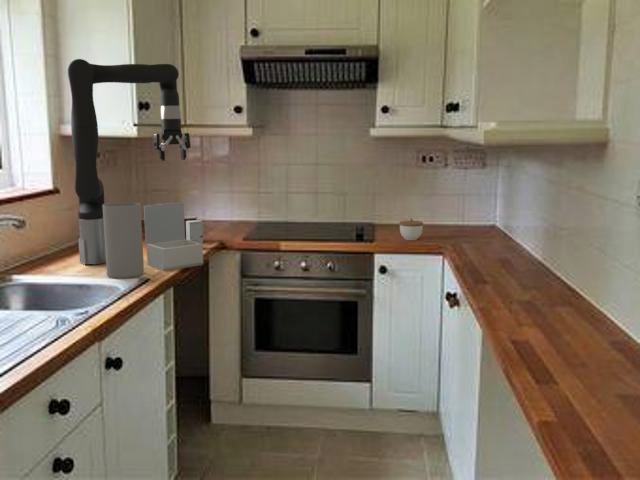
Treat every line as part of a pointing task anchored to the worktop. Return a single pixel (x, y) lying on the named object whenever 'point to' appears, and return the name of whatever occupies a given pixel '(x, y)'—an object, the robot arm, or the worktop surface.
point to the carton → (174, 254)
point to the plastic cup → (188, 220)
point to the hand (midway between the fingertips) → (173, 160)
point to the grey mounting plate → (164, 222)
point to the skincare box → (194, 231)
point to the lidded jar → (411, 229)
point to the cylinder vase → (123, 239)
